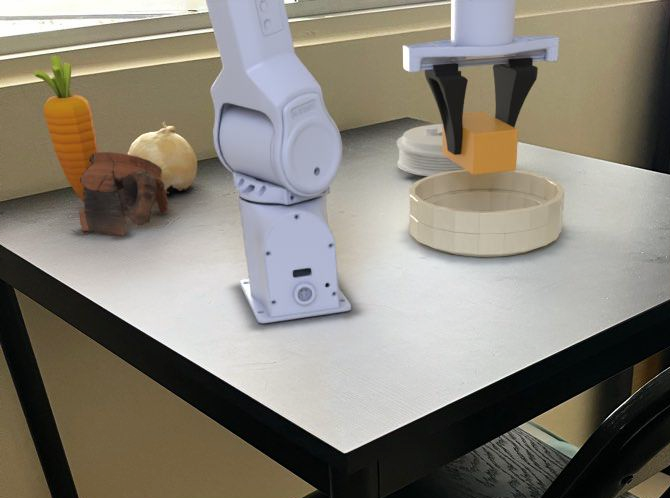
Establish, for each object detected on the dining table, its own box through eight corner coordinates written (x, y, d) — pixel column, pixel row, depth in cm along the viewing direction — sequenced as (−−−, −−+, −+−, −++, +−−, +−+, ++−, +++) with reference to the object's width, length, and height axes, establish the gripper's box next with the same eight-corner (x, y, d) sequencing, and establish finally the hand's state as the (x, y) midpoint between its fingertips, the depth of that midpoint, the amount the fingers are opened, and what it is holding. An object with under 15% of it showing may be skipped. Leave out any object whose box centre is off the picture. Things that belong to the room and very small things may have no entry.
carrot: (99, 213, 97) (64, 61, 88) (59, 211, 98) (20, 61, 89) (119, 200, 101) (88, 53, 92) (80, 198, 102) (45, 53, 93)
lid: (468, 190, 101) (469, 144, 98) (377, 177, 107) (376, 133, 104) (516, 165, 110) (518, 122, 107) (429, 153, 115) (429, 112, 112)
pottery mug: (59, 232, 93) (65, 152, 92) (140, 252, 100) (146, 178, 99) (113, 225, 85) (120, 137, 84) (197, 247, 92) (204, 166, 91)
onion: (192, 199, 101) (182, 133, 96) (124, 200, 101) (111, 134, 96) (206, 180, 107) (197, 117, 103) (142, 181, 107) (130, 118, 103)
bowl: (586, 249, 85) (591, 201, 82) (440, 269, 81) (440, 220, 78) (521, 205, 96) (524, 162, 94) (391, 221, 93) (390, 177, 90)
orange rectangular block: (516, 170, 82) (518, 129, 80) (473, 175, 81) (474, 133, 79) (482, 149, 89) (483, 111, 86) (441, 154, 88) (442, 115, 85)
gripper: (540, -24, 81) (529, 134, 89) (391, -16, 77) (394, 147, 86) (574, -18, 75) (560, 149, 84) (416, -9, 72) (417, 164, 80)
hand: (478, 149), depth 84 cm, fingers closed on orange rectangular block, 4 cm apart
